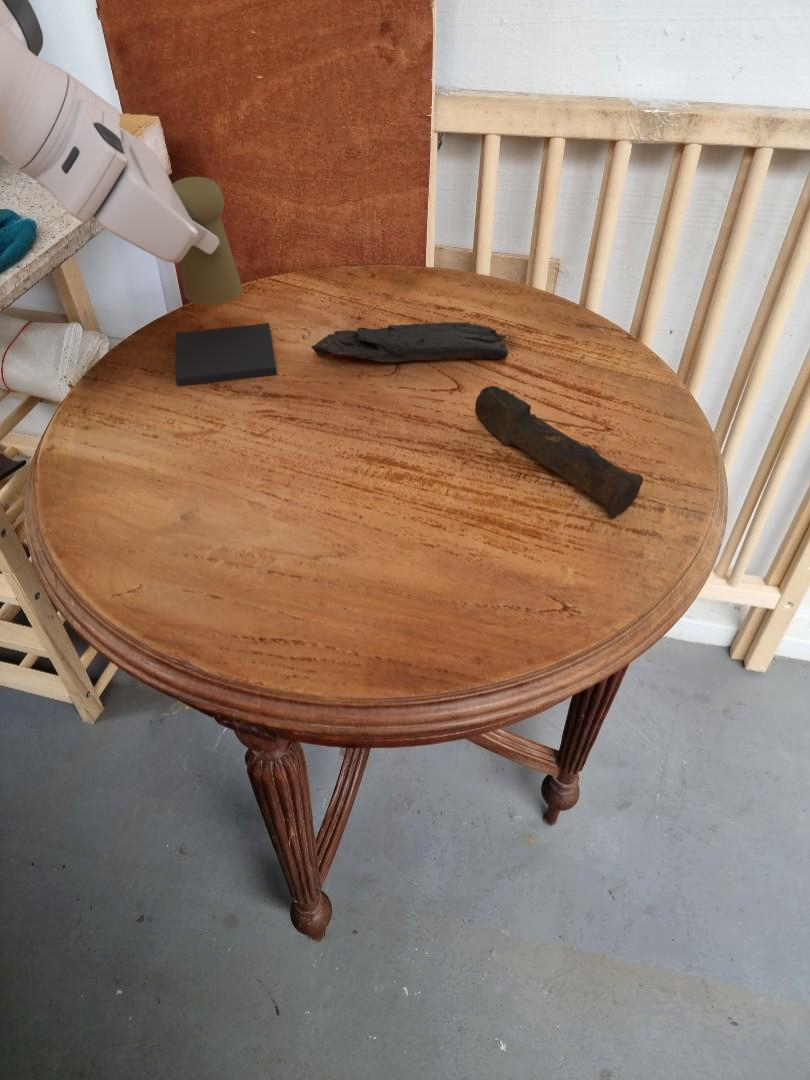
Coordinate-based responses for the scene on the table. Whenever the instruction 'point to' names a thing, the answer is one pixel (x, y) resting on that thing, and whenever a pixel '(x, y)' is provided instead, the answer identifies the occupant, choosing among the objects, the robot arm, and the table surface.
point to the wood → (415, 342)
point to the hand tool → (556, 450)
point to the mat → (224, 354)
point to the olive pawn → (202, 272)
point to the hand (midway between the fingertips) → (208, 233)
